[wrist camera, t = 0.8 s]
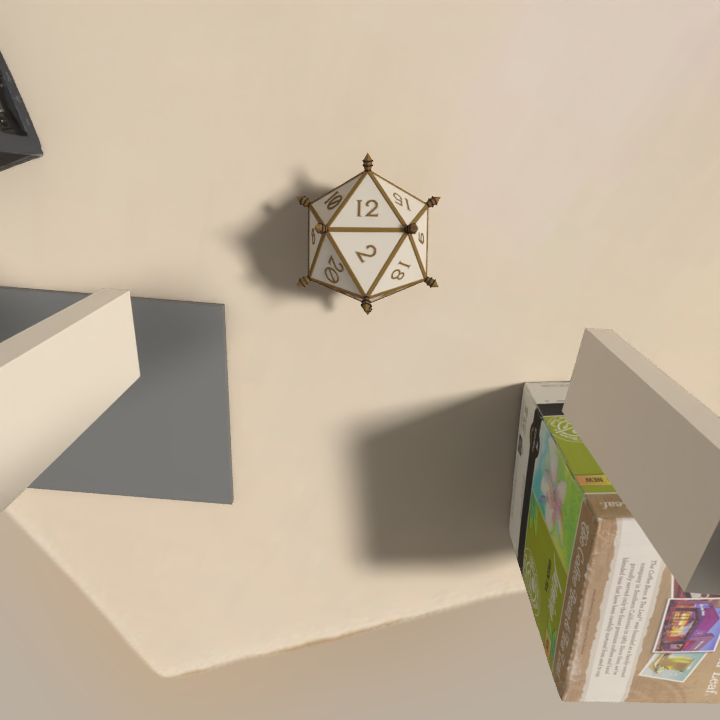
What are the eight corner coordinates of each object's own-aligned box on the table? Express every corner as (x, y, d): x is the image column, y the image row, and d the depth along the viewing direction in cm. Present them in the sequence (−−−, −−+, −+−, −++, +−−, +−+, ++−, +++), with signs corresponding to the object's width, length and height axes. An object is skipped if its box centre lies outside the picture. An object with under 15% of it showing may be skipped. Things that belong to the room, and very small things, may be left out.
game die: (380, 246, 37) (379, 364, 32) (278, 195, 33) (259, 321, 28) (467, 168, 30) (481, 301, 25) (353, 91, 26) (345, 233, 21)
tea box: (516, 380, 37) (595, 519, 23) (653, 375, 36) (815, 514, 23) (504, 531, 43) (561, 710, 30) (621, 529, 42) (733, 711, 29)
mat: (-24, 284, 35) (-29, 286, 35) (224, 304, 35) (222, 306, 35) (28, 483, 43) (25, 487, 42) (233, 500, 43) (231, 504, 42)
